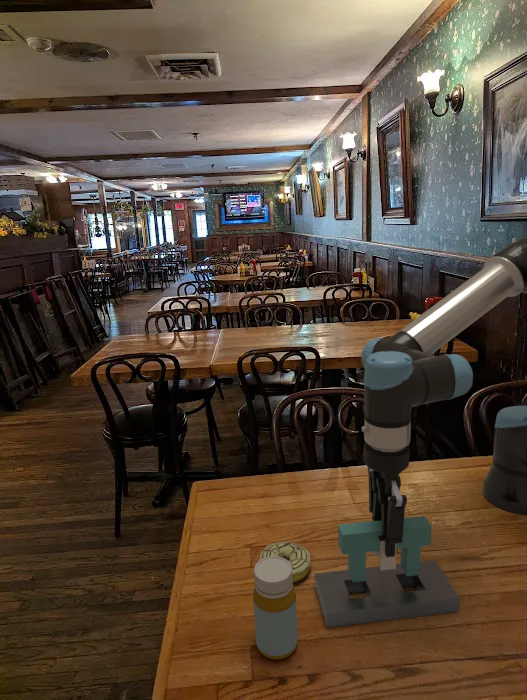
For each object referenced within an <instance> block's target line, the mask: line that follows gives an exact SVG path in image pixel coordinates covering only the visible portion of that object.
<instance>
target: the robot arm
mask: <svg viewBox="0 0 527 700" xmlns="http://www.w3.org/2000/svg"><path fill="white" fill-rule="evenodd" d="M526 290H527V235H526V236H524V237H521V238H519V239H517V240H515V241H514V242H511V243H510V244H508V245H507V246H504V248H502V249H500V250H498V251H497V252H496V253H494V254H493V255H492V256H491V257H489V258H488V259H486V260H485V262H484V264H483V267H482V269H481V270H480V271H478V272H477V273H475V274H474V275H472V277H470V278H469V279H467V280H466V281H464V282H463V283H462V284H460V285H459V286H458V287H456V288H455V289H454V290H453V291H450V293H449V294H447V295H446V296H444V297H443V298H442V299H440V300H439V301H438V302H437V303H435V304H434V305H433V306H431V307H430V308H429V309H427V310H425V311H424V312H423V313H422V314H420V315H419V316H418V317H415V318H414V320H412V321H411V322H409V323H408V324H407V325H405V326H404V327H402V329H400V330H398V331H397V332H396V333H394V334H393V335H391V336H390V337H389V338H383V337H382V338H380V337H377V338H372V339H370V340H369V341H367V343H366V344H365V345H364V347H363V349H362V351H361V355H360V356H361V357H360V359H361V360H360V361H361V365H362V366H363V368H364V374H363V375H364V376H363V377H364V378H363V385H364V387H363V388H364V389H363V390H364V391H363V393H364V394H363V396H364V397H363V398H364V399H363V400H364V406H363V407H364V410H363V411H364V412H363V413H364V416H363V417H364V425H363V426H362V427H361V432H363V436H364V441H365V442H364V444H363V462H364V464H365V465H366V467H367V472H368V474H367V475H368V503H369V504H368V512H369V513H370V514H371V515H372V516H371V519H372V521H380V520H382V536H378V538H379V541H380V551H373V552H372V555H373V557H379V566H380V570H390V569H396V564H397V549H396V543H402V540H403V527H404V518H405V513H406V512H405V510H406V505H407V503H408V497H407V495H406V494H401V489H400V488H401V486H402V479H401V476H400V474H402V472H403V471H405V470H406V469H408V467H409V464H410V443H411V427H412V423H411V422H412V421H411V418H412V417H411V416H412V408H413V407H419V406H421V405H426V404H431V403H437V402H441V401H446V400H449V401H450V400H452V399H455V398H457V397H460V396H463V395H466V394H467V393H468V392H469V391H470V390H471V388H472V387H473V381H474V372H473V369H472V366H471V365H470V363H469V362H468V360H467V359H466V358H465V357H464V356H462V355H460V354H455V353H451V354H447V353H445V354H442V355H433V354H434V353H435V352H437V351H438V350H439V349H441V348H442V347H443V346H445V345H446V344H447V343H448V342H450V341H451V340H453V339H454V338H455V337H456V336H458V335H460V333H461V332H463V331H465V329H467V328H469V326H471V325H472V324H473V323H475V322H477V321H478V320H479V319H480V318H482V317H483V316H484V315H486V313H488V312H489V311H491V310H492V309H493V308H494V307H496V306H497V305H499V304H500V303H501V302H503V300H505V299H506V298H507V297H510V298H512V297H516V296H519V294H521V293H522V292H524V291H526ZM482 485H483V486H482V494H483V496H484V498H485V499H486V501H488V502H489V503H491V504H492V505H494V506H495V507H497V508H500V509H502V510H504V511H508V512H511V513H515V514H521V515H527V405H513V406H507V407H504V408H502V409H500V410H499V411H498V412H497V415H496V418H495V424H494V435H493V453H492V463H491V466H490V468H489V471H487V475H486V477H485V479H484V480H483V484H482Z"/></svg>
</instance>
